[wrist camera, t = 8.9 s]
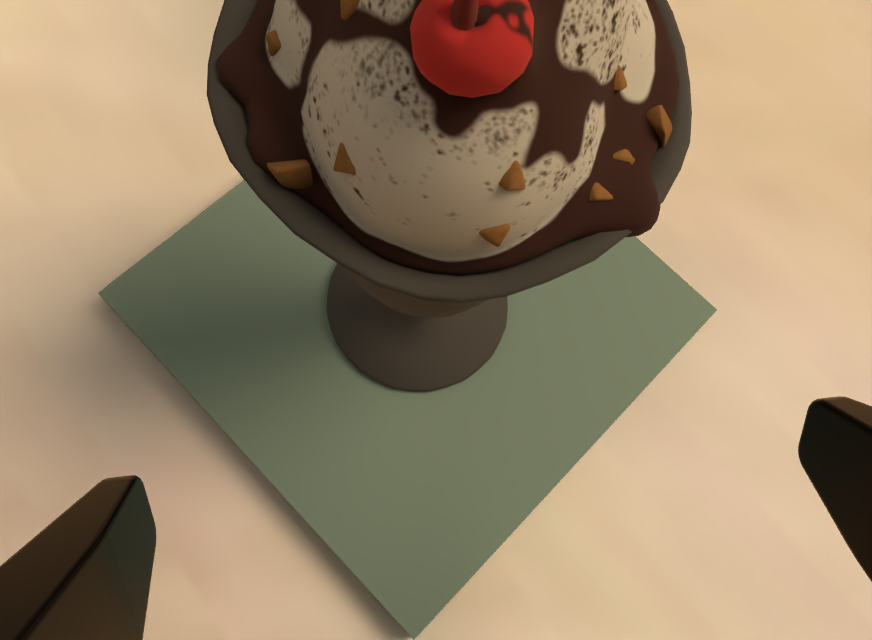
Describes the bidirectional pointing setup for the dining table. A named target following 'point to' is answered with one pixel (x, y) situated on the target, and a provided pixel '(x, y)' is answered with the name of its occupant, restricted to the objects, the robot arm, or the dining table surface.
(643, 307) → the rubber mat
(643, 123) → the sundae
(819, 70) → the dining table surface
